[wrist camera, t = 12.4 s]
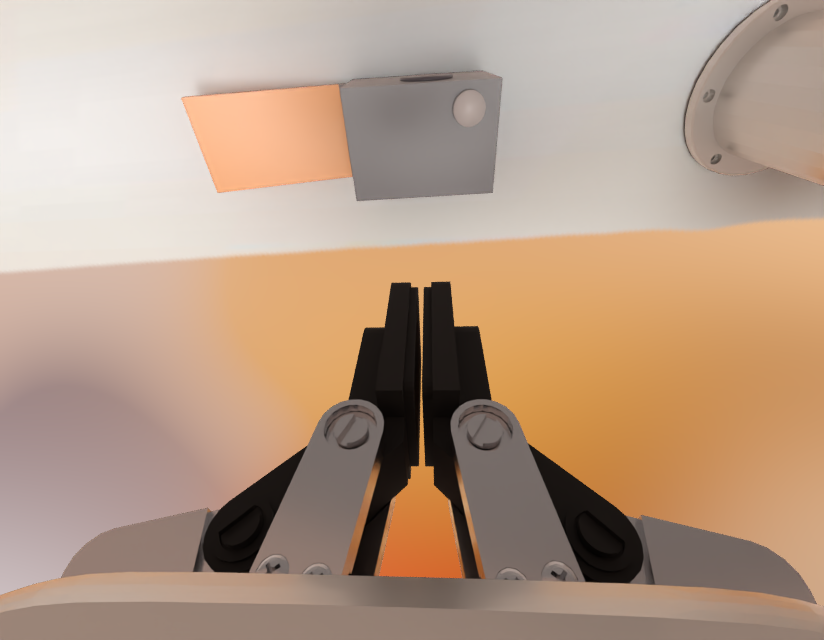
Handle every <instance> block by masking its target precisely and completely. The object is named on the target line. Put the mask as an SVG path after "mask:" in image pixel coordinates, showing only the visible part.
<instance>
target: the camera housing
mask: <svg viewBox="0 0 824 640" xmlns="http://www.w3.org/2000/svg"><path fill="white" fill-rule="evenodd" d="M501 88H502V77H499V76H496V75H493V74H490V73H487V72H485V71H471V72H456V73H440V74H421V75H410V76H395V77H380V78H365V79H352V80H351V81H350V82H348V83H347V84H345V85H344V86H343V87H341V88H340V92H341V99H342V106H343V112H344V119H345V126H346V132H347V139H348V146H349V152H350V159H351V166H352V172H353V179H354V186H355V193H356V199H357V201H364V200H381V199H398V198H414V197H431V196H448V195H464V194H481V193H493V182H494V170H495V159H496V147H497V135H498V123H499V111H500V100H501Z"/></svg>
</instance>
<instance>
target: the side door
mask: <svg viewBox="0 0 824 640" xmlns="http://www.w3.org/2000/svg"><path fill="white" fill-rule="evenodd" d="M344 85H345V84H333V85H321V86H309V87H297V88H285V89H272V90H260V91H248V92H236V93H224V94H212V95H200V96H188V97H182V98H181V99H182V102H183V104H184V107H185V109H186V112H187V115H188V117H189V120H190V122H191V125H192V127H193V130H194V133H195V135H196V138H197V140H198V143H199V146H200V148H201V151H202V153H203V156H204V159H205V161H206V164H207V166H208V169H209V172H210V174H211V177H212V179H213V182H214V185H215V187H216V190H217V192H218V193H221V192H229V191H237V190H246V189H254V188H262V187H271V186H279V185H287V184H295V183H304V182H312V181H320V180H329V179H337V178H345V177H353V172H352V166H351V159H350V152H349V146H348V139H347V132H346V126H345V119H344V112H343V106H342V99H341V92H340V88H341V87H343V86H344Z"/></svg>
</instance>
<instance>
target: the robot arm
mask: <svg viewBox="0 0 824 640" xmlns="http://www.w3.org/2000/svg"><path fill="white" fill-rule="evenodd" d="M685 136H686V143H687V146H688V148H689V151H690V153H691V155H692V156H693V158H694V159H695V160H696V161H697V162H698V163H699V164H700V165H702V166H704V167H705V168H707V169H709V170H711V171H714V172H717V173H719V174H725V175H732V176H733V175H747V174H751V173H755V172H760V171H763V170H765V169H768V168H773V169H776V170H779V171H782V172H785V173H787V174H790V175H793V176H796V177H799V178H802V179H805V180H808V181H811V182H814V183H817V184H820V185H823V186H824V0H771V1H770V2H768V3H767V4H765V5H764V6H762V7H761V8H759V9H758V10H756V11H755V12H754V13H753V14H751V15H750V16H749V17H748V18H747V19H746V20H744V21H743V22H742V23H741V24H740V25H739V26H738V27H737V28H736V29H735V30H734V31H733V32H732V33H731V34H730V35H729V36H728V37H727V38H726V40H725V41H724V42H723V43H722V44H721V45H720V46H719V48H718V49H717V51H716V52H715V53H714V55H713V56H712V57H711V59H710V60H709V62H708V63H707V65H706V66H705V68H704V70H703V72H702V74H701V75H700V77H699V79H698V81H697V83H696V85H695V88H694V90H693V93H692V95H691V98H690V100H689V105H688V109H687V113H686V119H685ZM423 311H424V313H423V366H422V368H423V369H422V399H423V423H424V445H425V466H434V485H435V486H436V487H437V488H438V489H439V490H440V491H441V492H442V493H443V494H444V495H445V496H446V497H447V498H448V504H449V510H450V515H451V520H452V526H453V531H454V536H455V541H456V547H457V552H458V557H459V562H460V567H461V572H462V578H463V579H462V578H426V577H389V576H388V577H387V576H379V573H380V568H381V564H382V560H383V555H384V550H385V546H386V541H387V537H388V532H389V528H390V522H391V518H392V513H393V509H394V504H395V496H396V495H397V494H398V493H399V492H400V491H401V490H402V489H403V488H405V487H406V486H407V484H408V479H410V478H411V466H419V437H420V435H419V433H420V390H421V346H420V321H419V297H418V288H417V287H411V283H392V284H391V289H390V296H389V303H388V309H387V316H386V322H385V328H365V330H364V333H363V337H362V342H361V346H360V351H359V355H358V360H357V364H356V369H355V374H354V378H353V383H352V387H351V392H350V396H349V400H347V401H343V402H340V403H338V404H336V405H334V406H332V407H331V408H330V409H329V410H327V411H326V412H325V413H324V414H323V416H322V418H321V419H320V420H319V422H318V424H317V426H316V429H315V431H314V433H313V435H312V437H311V439H310V442H309V444H308V446H306V447H305V448H303V449H302V450H301V451H299V452H298V453H296V454H295V455H293V456H292V457H291V458H289V459H288V460H286V461H285V462H284V463H282V464H281V465H279V466H278V467H277V468H275V469H274V470H272V471H271V472H270V473H268V474H267V475H266V476H264V477H263V478H261V479H260V480H259V481H257V482H256V483H254V484H253V485H251V486H250V487H249V488H247V489H246V490H244V491H243V492H242V493H240V494H239V495H237V496H236V497H235V498H233V499H232V500H230V501H229V502H228V503H227V504H226V505H225V506H223V507H222V508H221V509H220V510H216V511H210V510H209V508H205V509H200V510H196V511H191V512H187V513H182V514H178V515H173V516H169V517H164V518H160V519H155V520H151V521H146V522H142V523H137V524H132V525H128V526H123V527H119V528H114V529H112V530H109V531H107V532H104V533H101V534H100V535H98V536H97V537H95V538H94V539H92V540H91V541H89V542H88V543H87V544H86V545H84V547H82V548H81V549H80V550H79V552H77V553H76V555H75V556H74V557H73V558H72V560H71V561H70V563H69V564H68V566H67V568H66V569H65V571H64V572H63V575H62V577H61V578H58V579H54V580H49V581H45V582H41V583H36V584H33V585H30V586H27V587H23V588H20V589H17V590H14V591H11V592H8V593H5V594H2V595H0V640H824V606H820V605H817V603H816V601H815V599H814V597H813V595H812V593H811V591H810V589H809V588H808V586H807V585H806V583H805V582H804V580H803V579H802V577H801V576H800V575H799V573H798V572H797V571H796V570H795V569H794V568H793V567H792V566H791V565H790V564H789V563H787V561H786V560H785V559H783V558H782V557H780V556H779V555H777V554H776V553H774V552H773V551H771V550H770V549H768V548H767V547H764V546H761V545H759V544H756V543H754V542H751V541H747V540H743V539H739V538H735V537H731V536H727V535H723V534H718V533H714V532H710V531H706V530H702V529H698V528H693V527H689V526H685V525H681V524H677V523H673V522H669V521H664V520H660V519H656V518H652V517H648V516H644V515H641V516H640V517H639V518H638V519H637V518H633V517H628V516H625V515H624V514H623V513H622V512H621V511H620V510H618V509H617V508H616V507H615V506H614V505H612V504H611V503H609V502H608V501H607V500H605V499H604V498H603V497H601V496H600V495H598V494H597V493H596V492H594V491H593V490H591V489H590V488H589V487H587V486H586V485H584V484H583V483H582V482H580V481H579V480H578V479H576V478H575V477H573V476H572V475H571V474H569V473H568V472H567V471H565V470H564V469H562V468H561V467H560V466H558V465H557V464H556V463H554V462H553V461H551V460H550V459H549V458H547V457H546V456H545V455H543V454H542V453H540V452H539V451H538V450H536V449H535V448H534V447H532V446H531V445H529V444H528V443H527V440H526V438H525V436H524V433H523V431H522V429H521V426H520V424H519V422H518V420H517V419H516V417H515V415H514V414H513V413H512V412H511V411H510V410H509V409H508V408H507V407H505V406H503V405H501V404H499V403H498V402H495V401H492V400H491V394H490V389H489V383H488V377H487V371H486V366H485V360H484V354H483V349H482V343H481V338H480V332H479V328H478V326H470V327H469V326H463V327H454V318H453V307H452V297H451V285H450V282H431V287H424V309H423Z"/></svg>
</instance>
